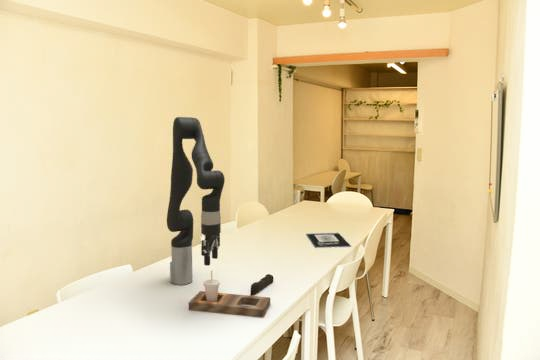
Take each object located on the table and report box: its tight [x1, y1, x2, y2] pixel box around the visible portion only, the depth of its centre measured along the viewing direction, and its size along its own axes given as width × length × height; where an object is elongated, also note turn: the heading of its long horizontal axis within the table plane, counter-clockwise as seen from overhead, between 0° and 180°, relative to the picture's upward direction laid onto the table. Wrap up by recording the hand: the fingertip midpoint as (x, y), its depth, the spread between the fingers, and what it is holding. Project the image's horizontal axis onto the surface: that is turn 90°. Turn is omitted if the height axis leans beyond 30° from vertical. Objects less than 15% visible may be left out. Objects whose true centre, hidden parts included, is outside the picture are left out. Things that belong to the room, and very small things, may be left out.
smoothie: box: [203, 270, 221, 302], centre depth 177 cm, size 6×6×14 cm
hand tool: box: [249, 273, 274, 296], centre depth 196 cm, size 19×4×5 cm, turn 152°
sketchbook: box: [305, 232, 352, 249], centre depth 275 cm, size 22×30×2 cm
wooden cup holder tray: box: [188, 290, 271, 318], centre depth 176 cm, size 30×12×3 cm, turn 77°
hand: (211, 261), depth 176 cm, fingers open, 8 cm apart
